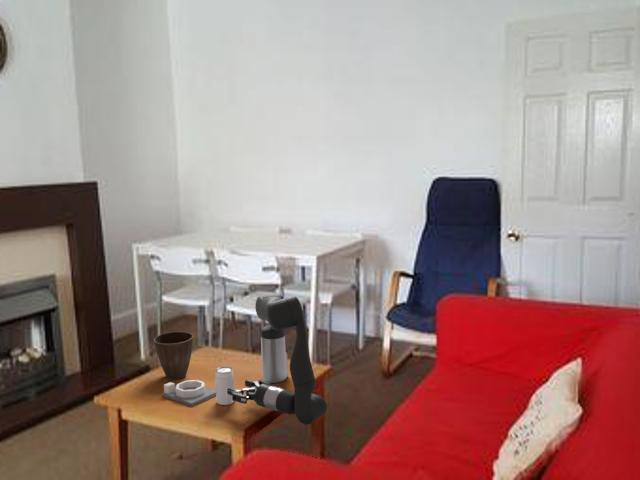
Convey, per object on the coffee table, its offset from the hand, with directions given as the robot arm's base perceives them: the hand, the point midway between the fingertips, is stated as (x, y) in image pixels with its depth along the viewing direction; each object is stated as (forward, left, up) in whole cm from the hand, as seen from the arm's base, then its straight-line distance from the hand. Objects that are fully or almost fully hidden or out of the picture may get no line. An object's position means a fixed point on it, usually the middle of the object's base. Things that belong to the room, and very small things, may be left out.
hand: (236, 386), depth 213 cm
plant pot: (-6, -40, -7) cm, 41 cm away
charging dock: (+3, -21, -7) cm, 22 cm away
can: (0, -6, -7) cm, 9 cm away
